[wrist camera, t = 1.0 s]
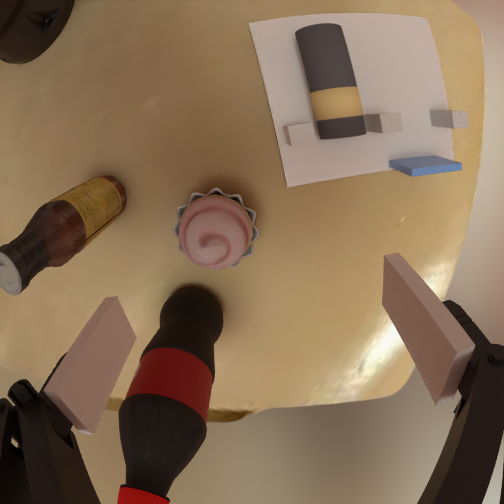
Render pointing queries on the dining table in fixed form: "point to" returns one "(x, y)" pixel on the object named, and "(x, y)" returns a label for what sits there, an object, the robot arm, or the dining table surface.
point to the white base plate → (372, 99)
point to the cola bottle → (169, 397)
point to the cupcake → (216, 229)
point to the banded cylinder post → (331, 81)
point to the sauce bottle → (60, 231)
